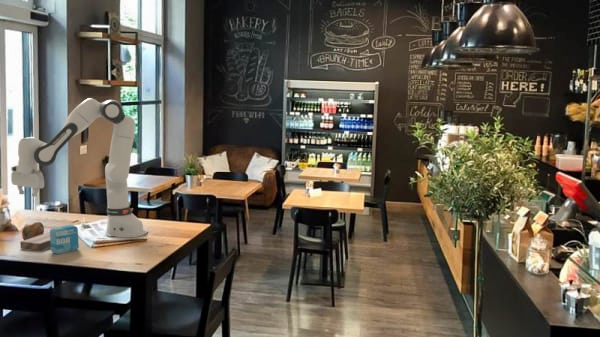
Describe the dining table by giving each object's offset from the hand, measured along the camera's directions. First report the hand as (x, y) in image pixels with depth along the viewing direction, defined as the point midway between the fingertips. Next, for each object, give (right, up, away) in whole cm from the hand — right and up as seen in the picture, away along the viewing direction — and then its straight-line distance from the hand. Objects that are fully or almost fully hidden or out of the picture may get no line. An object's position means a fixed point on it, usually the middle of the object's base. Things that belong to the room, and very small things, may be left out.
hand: (28, 195), depth 311 cm
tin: (+1, -23, +4) cm, 24 cm away
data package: (+26, -27, -17) cm, 41 cm away
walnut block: (+11, -25, -5) cm, 28 cm away
